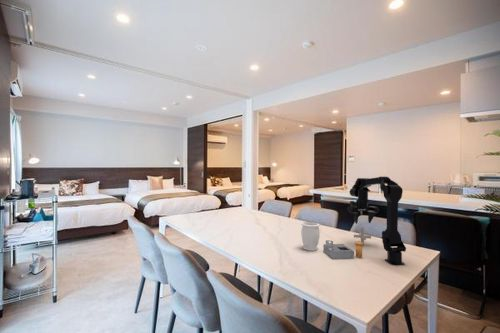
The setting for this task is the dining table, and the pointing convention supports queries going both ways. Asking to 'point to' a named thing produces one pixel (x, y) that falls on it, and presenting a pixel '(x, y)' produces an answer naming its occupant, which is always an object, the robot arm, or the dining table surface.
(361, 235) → the pipe connector
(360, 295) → the dining table surface
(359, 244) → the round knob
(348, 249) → the grey slotted base
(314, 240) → the jar
